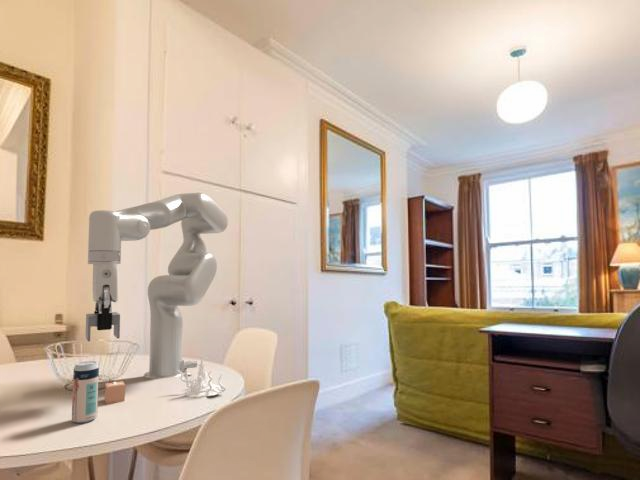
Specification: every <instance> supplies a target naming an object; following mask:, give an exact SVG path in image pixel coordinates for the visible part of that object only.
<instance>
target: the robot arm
mask: <svg viewBox="0 0 640 480" xmlns="http://www.w3.org/2000/svg"><path fill="white" fill-rule="evenodd" d="M180 221H181V222H180ZM178 222H180V223H181V224H180V225H181V230H182V231H181V232H182V239H183V241H182V244H181V246H180V247H179V248H178V250H177V252H176V253H175V254H174V256H173V257H172V259H171V260H170V262H169V264H168V267H167V272H168V274H165V275H164V274H162V275H159V276H156V277H154V278H153V279H151V281H149V284H148V287H147V297H148V302H149V311H150V323H149V324H150V331H149V361H148V362H149V365H148V366H149V369H148V371H147V372H145V373H144V374H143V378H144V377H145V378H147V379H169V378H175V377H179V376H180V377H181V375H180V372H179V371H177V370H180V371H181V372H182V375H183V377H186V374H187V373H188V372H187V369H193V368H194V369H195V368H197V367H198V362H197V360H196V361H191V360H189V361H185V360H183V359H182V358H183V322H184V320H183V315H182V313H181V311H180V309H179V307H180V306H181V307H182V306H183V307H193V306H196V305H199V303H200V302H201V301H202V300H203V299H204V297H205V294H206V293H207V291H208V289H209V288H210V286H211V284H212V282H213V280H214V278H215V276H216V274H217V268H218V265H217V259H216V258H215V256H214V255H213V254H212V253H209V252H207V246H206V243H205V241H204V240H203V237H202V234H204V235H206V234H220V233H223V232H224V231H225V230H227V227H228V224H229V223H228V222H229V220H228V217H227V214H226V212H225V211H224V210H223V209H222V207H220V206H219V205H218V204H217V203H216V202H215V201H214V199H212V198H211V197H210V196H209V195H207V194H205V193H204V192H203V193H202V192H187V193H177V194H174V195H171V196H167V197H165V198H162V199H159V200H155V201H152V202H147V203H143V204H139V205H136V206H133V207H128V208H124V209H119V210H116V211H113V210H99V209H98V210H94V211H92V212H90V214H89V217H88V241H87V242H88V243H87V244H88V245H87V247H88V248H87V249H88V250H87V264H88V265H92V300H93V301H94V302H95V307H94V311H93V314H94V313H99V314H97V326H94V327H96V330H97V331H107V330H108V331H109V330H112V328H113V327H112V326H113V325H112V312H113V311H112V309H113V308H112V302H113V303H116V302H118V298H119V297H118V266H117V265H121V262H122V261H121V259H122V257H121V255H122V253H121V252H122V242H131V241H132V242H134V241H135V242H136V241H141V240H143V239H146V238H147V236H148V235H149V234H150V231H152V230H154V231H155V230H158V229H163V228H167V227H169V226H171V225H174V224H175V223H178Z"/></svg>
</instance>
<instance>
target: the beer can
mask: <svg viewBox="0 0 640 480" xmlns="http://www.w3.org/2000/svg"><path fill="white" fill-rule="evenodd" d="M99 367H100V366H99V365H98V362H97V361H82V362H78V363H76V364H75V365H74V367H73V373H72V374H73V378H72V379H73V381H72V401H71V421H72V422H74V423H76V424H86V423H88V422H89V423H90V422H92V421H94V419H96V418H97V417H98V407H99V405H98V402H99V399H98V398H99V375H100V372H99V371H100V370H99V369H100V368H99Z"/></svg>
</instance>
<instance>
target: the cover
mask: <svg viewBox="0 0 640 480" xmlns="http://www.w3.org/2000/svg"><path fill="white" fill-rule="evenodd" d="M97 314H99V313H94V312H93V313H86V315H85V316H86V317H85V340H86V341H87V342H91V329H92V327H95V326H97ZM112 326H113V336H114V337H115V338H116V339H120V333H121V331H120V330H121V314H120V313H119V312H117V311H112Z"/></svg>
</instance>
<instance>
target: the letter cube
mask: <svg viewBox="0 0 640 480" xmlns="http://www.w3.org/2000/svg"><path fill="white" fill-rule="evenodd" d="M104 388H105V390H104V401H105V403H106V405H108V404H114V403H120V402H121V403H122V402H126V401H125V400H126V399H125V398H126V396H125V395H126V392H125V391H126V384H125V382H124V380H120V381H113V382H106V383H105V386H104Z"/></svg>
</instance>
